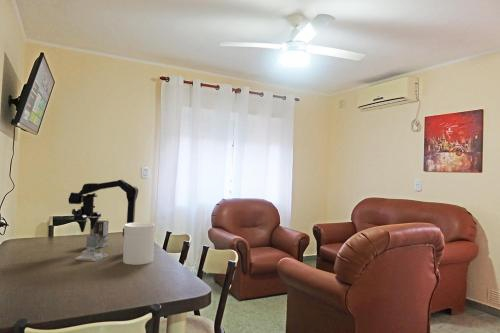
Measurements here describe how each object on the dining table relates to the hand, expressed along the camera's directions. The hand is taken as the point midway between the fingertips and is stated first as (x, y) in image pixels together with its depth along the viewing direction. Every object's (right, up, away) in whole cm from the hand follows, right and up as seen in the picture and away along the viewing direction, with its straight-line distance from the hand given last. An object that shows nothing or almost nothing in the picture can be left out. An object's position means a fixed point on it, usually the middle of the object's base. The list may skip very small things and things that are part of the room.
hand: (87, 230), depth 200 cm
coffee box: (0, -13, +16) cm, 21 cm away
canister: (+35, -14, -14) cm, 40 cm away
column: (+8, -7, -11) cm, 16 cm away
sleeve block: (+8, -13, -11) cm, 19 cm away
